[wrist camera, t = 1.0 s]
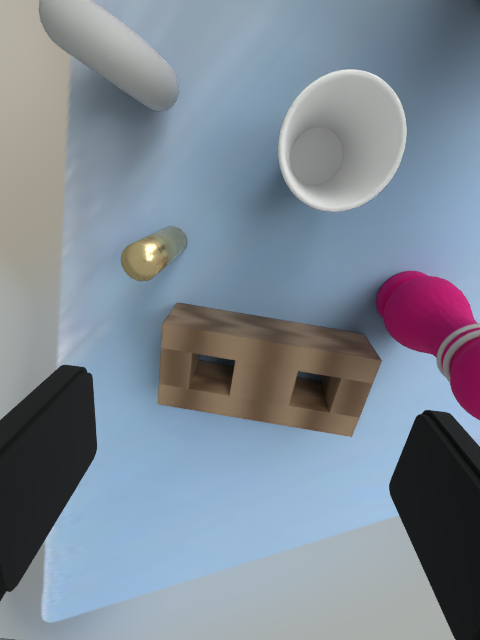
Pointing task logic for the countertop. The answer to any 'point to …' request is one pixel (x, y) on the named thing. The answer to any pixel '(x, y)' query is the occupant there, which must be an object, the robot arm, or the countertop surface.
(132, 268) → the brass peg
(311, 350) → the hole block
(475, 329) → the pepper mill
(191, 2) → the countertop surface
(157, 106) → the donut
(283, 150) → the dixie cup
